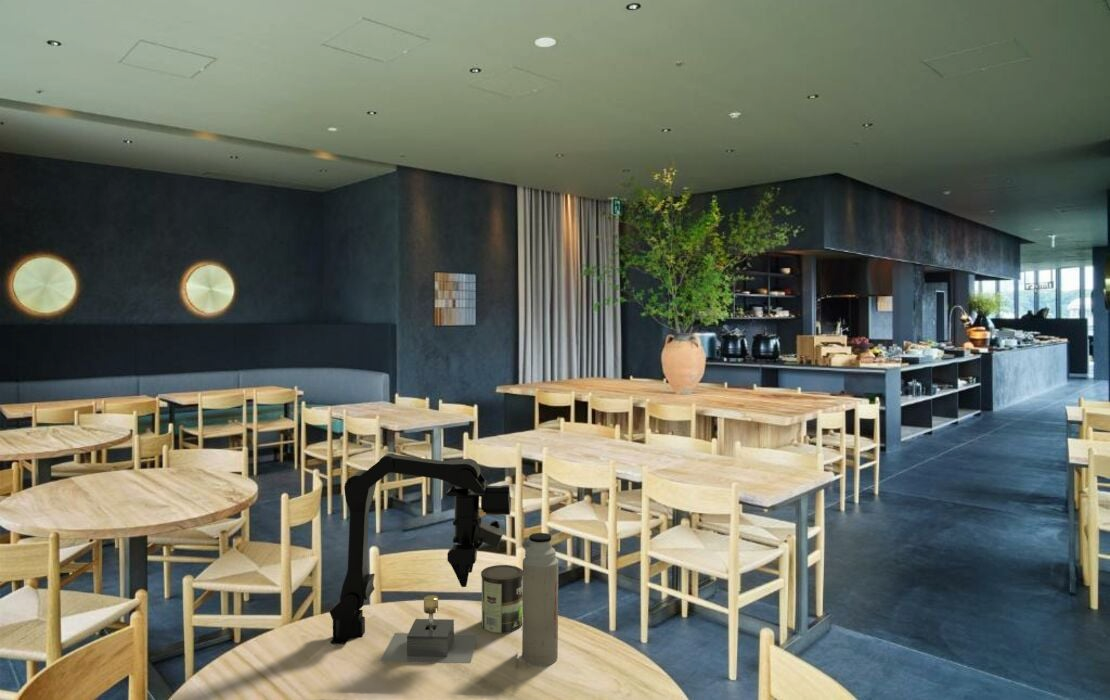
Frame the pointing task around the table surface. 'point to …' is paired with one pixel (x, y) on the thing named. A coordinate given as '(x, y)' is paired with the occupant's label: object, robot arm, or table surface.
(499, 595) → the coffee can
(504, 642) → the table surface
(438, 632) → the grey knob block
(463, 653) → the slate board
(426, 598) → the golden knob
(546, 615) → the thermos bottle
